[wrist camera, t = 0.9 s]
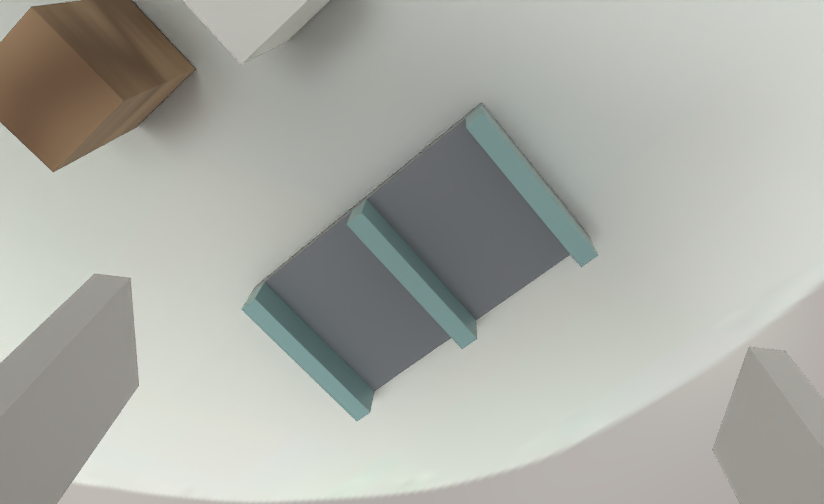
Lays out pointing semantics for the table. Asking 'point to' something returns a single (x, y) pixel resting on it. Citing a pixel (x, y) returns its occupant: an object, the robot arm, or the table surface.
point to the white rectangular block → (254, 22)
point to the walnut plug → (83, 76)
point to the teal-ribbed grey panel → (417, 262)
